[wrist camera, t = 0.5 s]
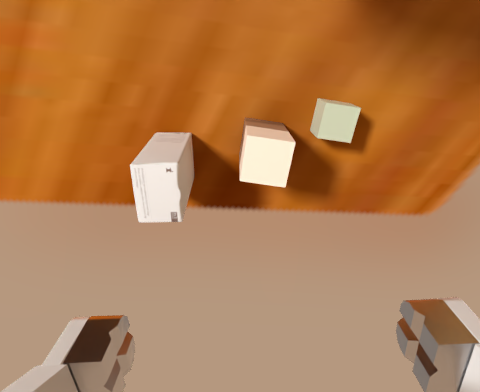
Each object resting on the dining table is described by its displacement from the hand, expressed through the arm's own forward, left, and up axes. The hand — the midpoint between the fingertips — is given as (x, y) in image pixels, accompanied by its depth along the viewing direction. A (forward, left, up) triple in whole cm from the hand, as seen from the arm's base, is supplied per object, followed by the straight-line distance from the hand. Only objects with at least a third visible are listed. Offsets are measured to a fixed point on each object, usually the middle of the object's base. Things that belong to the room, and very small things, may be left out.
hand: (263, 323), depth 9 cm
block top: (+4, +4, -37) cm, 37 cm away
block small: (-1, +14, -43) cm, 45 cm away
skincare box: (+9, -9, -43) cm, 45 cm away
